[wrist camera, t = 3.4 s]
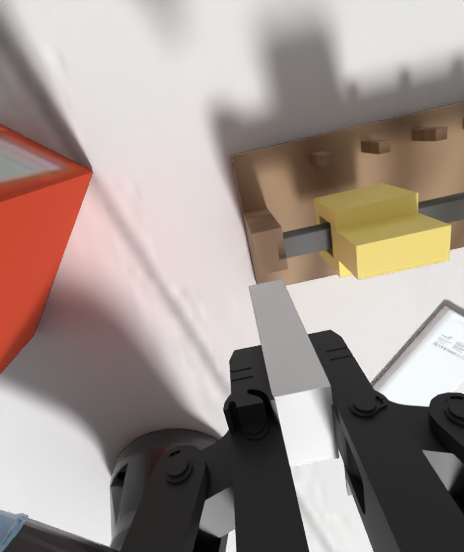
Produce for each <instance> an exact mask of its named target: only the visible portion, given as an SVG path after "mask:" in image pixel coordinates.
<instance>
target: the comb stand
mask: <svg viewBox="0 0 464 552" xmlns="http://www.w3.org/2000/svg"><path fill="white" fill-rule="evenodd" d="M231 159H232V163H233V168H234V173H235V178H236V183H237V188H238V193H239V198H240V203H241V208H242V213H243V218H244V223H245V228H246V233H247V237H248V242H249V247H250V252H251V257H252V262H253V267H254V272H255V277H256V282H257V284H261V283H266V282H271V281H275V280H280V279H282V280H283V282H284V284H285V286H286V285H290V284H295V283H300V282H304V281H309V280H313V279H318V278H323V277H327V276H332V275H337V273H336V272H335V271H334V270H333V269H332V268H331V267H330V266H329V265H328V263H327V262H326V261H325V260H324V259H323V258H322V257H321V256H320V252H319V251H323V250H327V249H332V248H333V246H332V235H331V224H330V223H329V222H327V223H323V224H318V225H316V217H315V208H314V199H313V198H318V197H322V196H327V195H331V194H336V193H340V192H345V191H349V190H353V189H358V188H362V187H367V186H371V185H376V184H380V183H385V184H388V185H392V186H395V187H399V188H403V189H406V190H410V191H414V192H417V193H418V213H420V214H423V215H426V216H428V217H431V218H434V219H436V220H439V221H442V222H444V223H447V224H450V225H451V240H450V250H452V249H456V248H461V247H464V102H459V103H455V104H451V105H447V106H442V107H438V108H434V109H429V110H425V111H421V112H416V113H412V114H408V115H403V116H399V117H395V118H390V119H386V120H382V121H378V122H373V123H369V124H365V125H360V126H356V127H352V128H347V129H343V130H339V131H334V132H330V133H326V134H322V135H317V136H313V137H309V138H304V139H300V140H296V141H291V142H287V143H283V144H278V145H274V146H270V147H265V148H261V149H257V150H253V151H248V152H244V153H240V154H235V155H231Z"/></svg>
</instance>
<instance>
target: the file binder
mask: <svg viewBox="0 0 464 552" xmlns="http://www.w3.org/2000/svg"><path fill="white" fill-rule="evenodd" d="M92 174H93V172H92V170H90V169H88V168H86V167H84V166H82V165H80V164H78V163H76V162H74V161H72V160H70V159H68V158H66V157H64V156H62V155H60V154H58V153H56V152H54V151H52V150H50V149H48V148H46V147H44V146H42V145H40V144H38V143H36V142H34V141H32V140H30V139H28V138H26V137H24V136H22V135H20V134H18V133H16V132H14V131H12V130H10V129H8V128H6V127H4V126H2V125H0V374H1V372H2V371H3V370H4V369H5V368H6V367H7V366H8V364H9V363H10V362H11V361H12V360H13V359H14V358H15V356H16V355H17V354H18V353H19V352H20V351H21V350H22V348H23V347H24V346H25V345H26V344H27V343H28V342H29V340H30V339H31V338H32V337H33V336H34V334H35V331H36V328H37V325H38V323H39V320H40V317H41V314H42V312H43V309H44V306H45V303H46V301H47V298H48V295H49V292H50V290H51V287H52V284H53V281H54V279H55V276H56V273H57V270H58V268H59V265H60V262H61V259H62V257H63V254H64V251H65V248H66V246H67V243H68V240H69V237H70V235H71V232H72V229H73V226H74V224H75V221H76V218H77V215H78V213H79V210H80V207H81V204H82V202H83V199H84V196H85V193H86V191H87V188H88V185H89V182H90V180H91V177H92Z"/></svg>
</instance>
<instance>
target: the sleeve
mask: <svg viewBox="0 0 464 552" xmlns="http://www.w3.org/2000/svg"><path fill="white" fill-rule="evenodd" d="M313 199H314V208H315V217H316V225H318V224H323V223H327V222H329V223H330V224H331V235H332V246H333V248H332V249H327V250H323V251H319V252H320V256H321V257H322V258H323V259H324V260H325V261H326V262H327V263H328V265H329V266H330V267H331V268H332V269H333V270H334V271H335V272H336V273H337V275H338V276H339V277H340V278H341V277H345V276H350V275H354V276H355V277H356V278H357V279H358V280H360V279H365V278H369V277H374V276H379V275H383V274H388V273H393V272H397V271H402V270H407V269H411V268H416V267H420V266H425V265H430V264H434V263H439V262H444V261H448V260H449V257H450V240H451V225H450V224H447V223H444V222H442V221H439V220H436V219H434V218H431V217H428V216H426V215H423V214H420V213H418V193H417V192H414V191H410V190H406V189H403V188H399V187H395V186H392V185H388V184H385V183H380V184H376V185H371V186H367V187H362V188H358V189H353V190H349V191H345V192H340V193H336V194H331V195H327V196H322V197H318V198H313Z"/></svg>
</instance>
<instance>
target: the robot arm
mask: <svg viewBox="0 0 464 552" xmlns="http://www.w3.org/2000/svg"><path fill="white" fill-rule="evenodd" d="M249 291H250V295H251V300H252V305H253V309H254V314H255V318H256V323H257V328H258V332H259V337H260V342H261V345H259V346H254V347H249V348H244V349H239V350H234V352H233V354H232V356H231V358H230V360H229V363H230V379H231V395H230V396H229V397H228V398H227V400H226V401H225V404H224V409H223V411H224V414H225V418H226V421H227V424H228V427H229V430H228V432H227V433H226V434H225V435H224V436H223V437H222V438H221V439H220V440H219V441H218V440H216V439H215V438H213V437H211V436H208V435H206V434H203V433H200V432H196V431H190V430H181V429H172V430H162V431H157V432H153V433H150V434H147V435H144V436H142V437H140V438H138V439H136V440H135V441H133V442H132V443H130V444H129V445H128V446H127V447H126V448H125V449H124V450H123V451H122V452H121V453H120V455H119V457H118V459H117V461H116V464H115V467H114V471H113V474H112V478H111V483H110V503H111V531H112V540H111V545H110V547H108V546H105V545H103V544H100V543H97V542H94V541H91V540H89V539H86V538H83V537H80V536H77V535H75V534H72V533H69V532H66V531H63V530H61V529H58V528H55V527H52V526H49V525H47V524H44V523H41V522H38V521H35V520H33V519H30V518H28V515H25V514H24V513H20V514H13V513H10V512H6V511H3V510H0V552H226V544H227V538H228V533H229V532H230V531H232V530H234V529H235V532H236V551H237V552H309V549H308V544H307V540H306V535H305V531H304V526H303V522H302V518H301V513H300V509H299V504H298V500H297V496H296V491H295V487H294V482H293V478H292V474H291V469H290V467H294V466H299V465H304V464H310V463H315V462H320V461H326V460H331V459H336V458H339V452H340V454H341V457H342V459H343V462H344V468H345V477H346V487H347V493H348V495H353V498H354V500H355V503H356V506H357V508H358V511H359V514H360V516H361V519H362V522H363V524H364V527H365V530H366V532H367V535H368V538H369V540H370V543H371V545H372V548H373V551H374V552H464V394H462V393H452V392H447V393H442V394H438V395H437V396H435V397H434V398H433V399H431V401H430V404H429V407H428V406H414V405H404V404H398V403H395V402H392V401H389V400H388V399H387V398H386V397H385V396H384V395H383V394H381V393H380V392H378V391H376V390H374V388H373V387H372V386H371V384H370V382H369V381H368V379H367V377H366V376H365V374H364V373H363V371H362V369H361V368H360V366H359V365H358V363H357V361H356V360H355V358H354V357H353V355H352V353H351V352H350V350H349V349H348V347H347V345H346V343H345V342H344V340H343V339H342V337H341V336H339V335H338V334H336V333H335V332H333V331H332V330H327V331H322V332H317V333H312V334H307V332H306V330H305V328H304V326H303V324H302V321H301V319H300V317H299V315H298V313H297V311H296V308H295V306H294V304H293V302H292V300H291V297H290V295H289V293H288V291H287V289H286V286H285V284H284V282H283V280H282V279H280V280H275V281H271V282H266V283H261V284H256V285H252V286H249ZM338 449H339V452H338Z"/></svg>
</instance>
